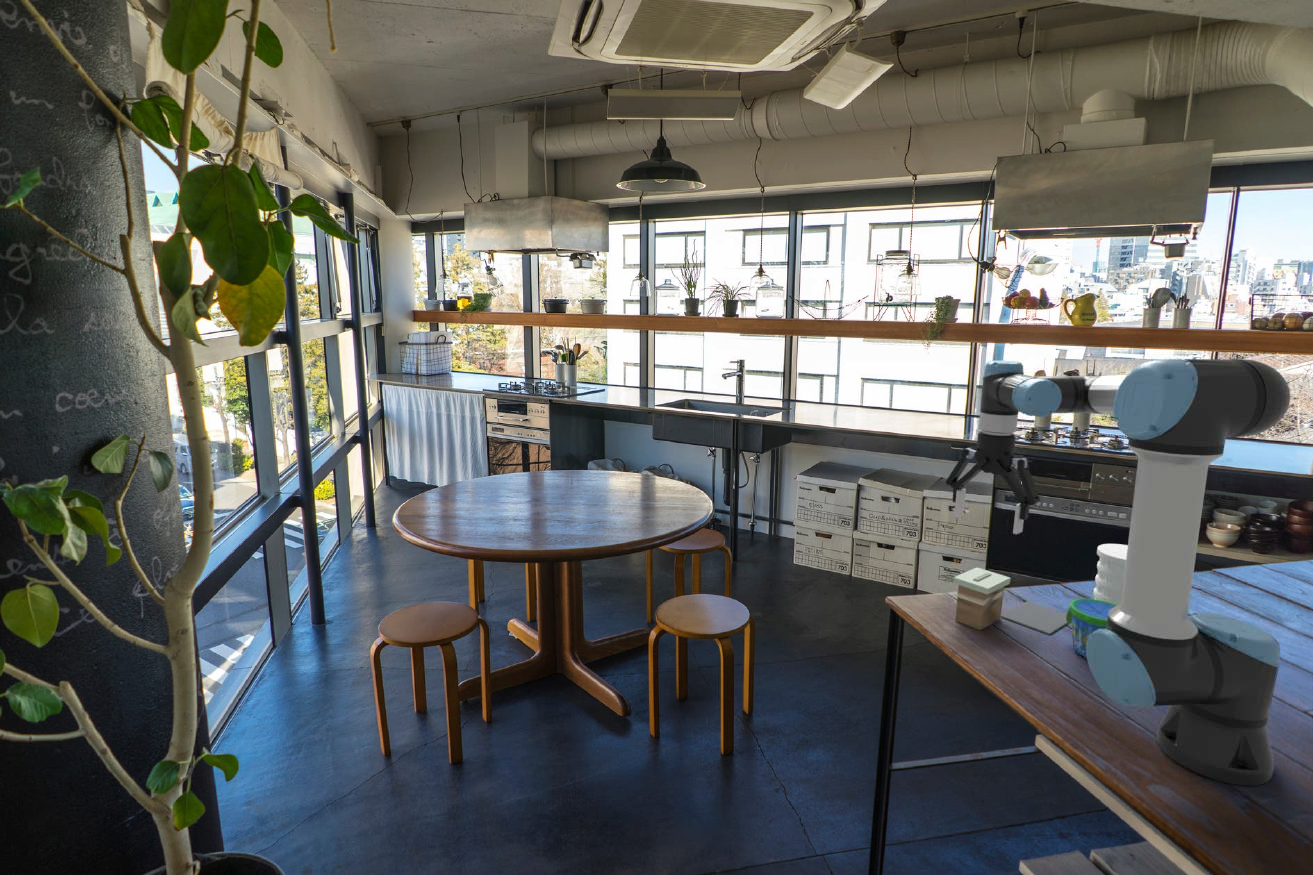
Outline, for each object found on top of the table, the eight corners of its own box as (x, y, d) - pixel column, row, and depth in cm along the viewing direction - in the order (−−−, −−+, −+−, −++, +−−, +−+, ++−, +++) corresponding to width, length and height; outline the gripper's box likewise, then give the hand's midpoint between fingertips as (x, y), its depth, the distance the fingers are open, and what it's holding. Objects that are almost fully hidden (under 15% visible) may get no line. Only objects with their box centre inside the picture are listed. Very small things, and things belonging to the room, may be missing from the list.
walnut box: (980, 630, 160) (984, 592, 159) (954, 620, 165) (958, 583, 163) (1000, 619, 166) (1004, 582, 164) (975, 609, 171) (979, 574, 169)
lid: (987, 594, 158) (988, 587, 157) (953, 583, 164) (954, 576, 163) (1009, 583, 164) (1010, 576, 163) (976, 572, 170) (976, 565, 170)
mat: (1049, 634, 158) (1049, 633, 158) (1000, 617, 167) (1000, 615, 167) (1075, 618, 166) (1075, 617, 166) (1027, 602, 175) (1027, 601, 175)
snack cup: (1143, 673, 143) (1150, 626, 141) (1090, 673, 143) (1097, 626, 141) (1096, 636, 158) (1102, 593, 156) (1048, 636, 158) (1053, 592, 156)
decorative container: (1076, 625, 163) (1086, 550, 159) (1098, 611, 170) (1108, 539, 166) (1133, 644, 154) (1145, 566, 150) (1154, 629, 161) (1166, 554, 157)
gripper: (1064, 439, 149) (1052, 536, 154) (952, 421, 169) (944, 507, 173) (1048, 444, 145) (1036, 543, 149) (935, 425, 164) (927, 513, 168)
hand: (987, 524), depth 161 cm, fingers open, 13 cm apart
